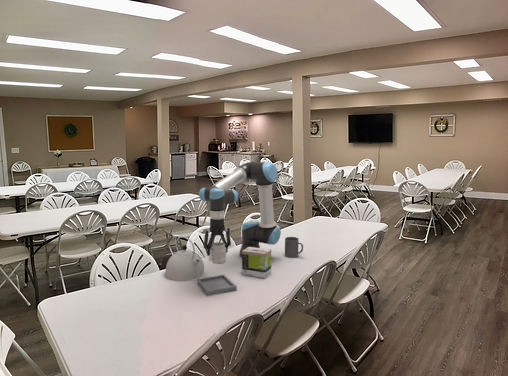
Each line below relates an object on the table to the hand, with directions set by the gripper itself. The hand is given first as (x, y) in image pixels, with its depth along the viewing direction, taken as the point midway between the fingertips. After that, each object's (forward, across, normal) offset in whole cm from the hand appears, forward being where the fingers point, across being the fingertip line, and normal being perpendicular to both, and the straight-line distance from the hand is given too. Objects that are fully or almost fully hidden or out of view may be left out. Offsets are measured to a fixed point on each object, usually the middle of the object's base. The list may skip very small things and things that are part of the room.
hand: (217, 259), depth 204 cm
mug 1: (+1, -1, 0) cm, 1 cm away
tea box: (+16, +28, +8) cm, 33 cm away
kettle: (+16, -10, +26) cm, 32 cm away
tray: (+15, -1, 0) cm, 15 cm away
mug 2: (+15, +65, +26) cm, 71 cm away
